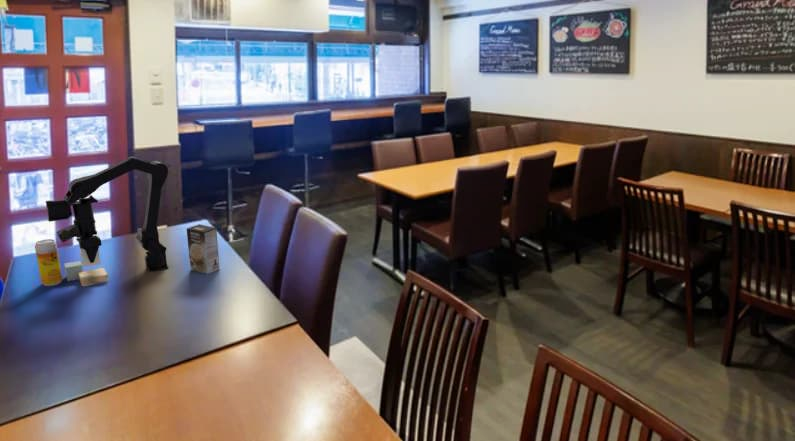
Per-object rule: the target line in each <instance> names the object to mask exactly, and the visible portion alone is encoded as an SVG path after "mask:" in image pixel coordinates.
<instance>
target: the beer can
mask: <svg viewBox="0 0 795 441" xmlns="http://www.w3.org/2000/svg"><path fill="white" fill-rule="evenodd" d="M34 249H35V256H36V260H37V261H36V262H37V266H38V272H39V276H40V283H41V284H42V285H43V286H45V287H52V286H57V285H60V284H61V283H62V281H63V275H62V270H61V263H60V259H59V258H60V256H59V251H58V246H57V243H56V241H55V239H41V240H38V241H36V242H35V244H34Z"/></svg>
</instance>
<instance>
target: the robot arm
mask: <svg viewBox="0 0 795 441" xmlns="http://www.w3.org/2000/svg"><path fill="white" fill-rule="evenodd" d="M133 170H136V171H140V172H142V173H146V178H147V183H148V191H147V198H146V206H145V215H144V221H143V222H144V223H143V225H142V226H141V228H140V227H137V229H136V230H137V234H136V237H135V239H136V240H137V242H138V244H139V245H140V246H141V247H142V248H143V249H144V250H145V256H144V263H145V267H146V269H147V270H148V271H149V272H154V271H160V270H164V269H169V265H168V262H167V253H166V252H167V247H166V246H165V245H163V243H162V242H160V235H159V230H158V223H159V222H158V220H159V215H160V214H159V212H160V204H161V197H162V189H163V186H164V185H165V183H166V181H167V179H168V175H169V168H168V167H167V165H166V164H165V163H162V162H161V161H157V160H153V161H147V160H144V159H140V158H136V157H135V156H128V157H126V158H125V159H124V160H122V161H120V162H118V163H115V164H113V165H111V166H109V167H107V168H105V169H102V170H100V171H98V172H97V173H94V174H90V175H85V176H82V177H78V178H75V179H73V180H71V181H70V182H69V184H68V191H67V192H66V194H64V196H63V199H57V200H56V199H55V200H45V208H46V209H45V211H46V217H47V222H49V223H51V222H58V221H64V220H69V218H71V216H73V217H74V219H73V224H71V225H67V226H66V227H63V228H61V229H59V230H57V231H56V235H57V237H58V238H59V240H60V242H61V243H65V242H68V240H71V239H73V238H76V241H77V242H78V246H79V250H80V249H84V250H85V251H86V253H87V256H88V258H89V261H90V263H93V262H94V261H95V257H96V254H97V251H99V248H100V247H101V246H102V239H101V237H100V236H98V231H97V228H96V227H97V226H96V219H95V215H94V208H93V204H96V203H99V199H97V198H95V197H94V196H93V195H92V194H94V193H95V192H96V191H97V190H98V189H99V188H101V187H102V186H103V185H105V184H107V183H109V182H111V181H113V180H115V179H118V178H119V177H121V176H123V175H125V174H128V173H129V172H131V171H133ZM72 211H73V212H72Z"/></svg>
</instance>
